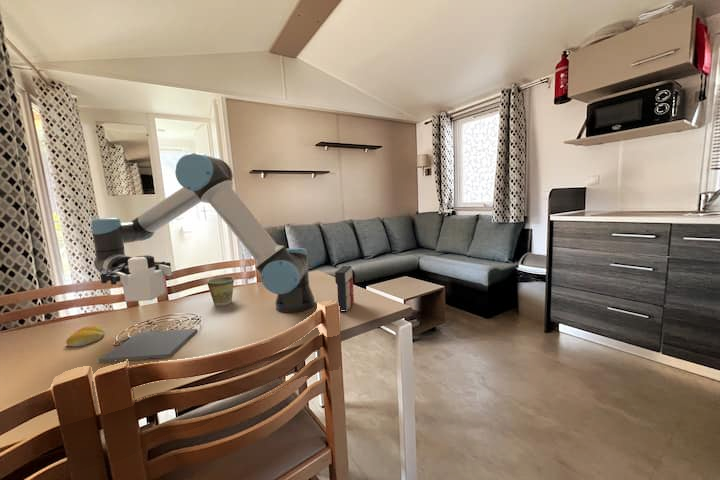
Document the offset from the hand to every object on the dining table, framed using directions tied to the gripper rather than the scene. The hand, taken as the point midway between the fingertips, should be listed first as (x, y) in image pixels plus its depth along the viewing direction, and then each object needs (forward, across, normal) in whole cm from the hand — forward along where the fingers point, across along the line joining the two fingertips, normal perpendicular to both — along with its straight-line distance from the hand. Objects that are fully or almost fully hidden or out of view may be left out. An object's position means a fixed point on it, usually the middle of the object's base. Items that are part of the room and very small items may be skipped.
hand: (149, 275), depth 81 cm
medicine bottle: (-4, 0, -7) cm, 8 cm away
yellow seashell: (-28, +10, -22) cm, 37 cm away
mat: (-4, 0, -22) cm, 22 cm away
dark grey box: (+26, -54, -22) cm, 64 cm away
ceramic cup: (-23, -33, -22) cm, 46 cm away
